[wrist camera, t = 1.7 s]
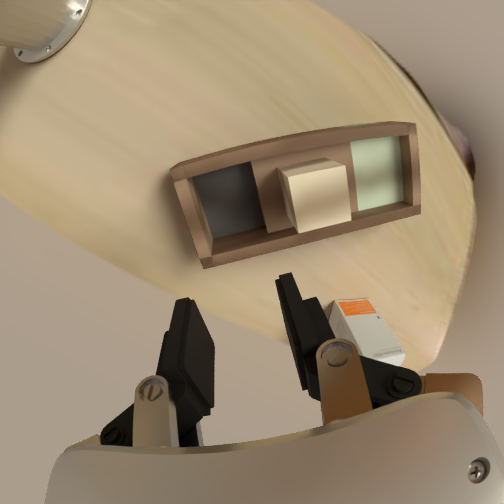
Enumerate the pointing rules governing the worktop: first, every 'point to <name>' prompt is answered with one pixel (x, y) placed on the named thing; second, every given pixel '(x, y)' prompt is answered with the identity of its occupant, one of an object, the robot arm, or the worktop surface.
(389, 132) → the channel
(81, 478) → the robot arm
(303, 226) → the birch block
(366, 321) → the skincare box
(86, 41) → the worktop surface
